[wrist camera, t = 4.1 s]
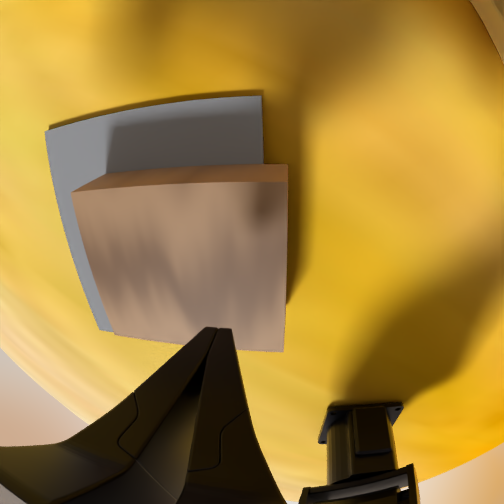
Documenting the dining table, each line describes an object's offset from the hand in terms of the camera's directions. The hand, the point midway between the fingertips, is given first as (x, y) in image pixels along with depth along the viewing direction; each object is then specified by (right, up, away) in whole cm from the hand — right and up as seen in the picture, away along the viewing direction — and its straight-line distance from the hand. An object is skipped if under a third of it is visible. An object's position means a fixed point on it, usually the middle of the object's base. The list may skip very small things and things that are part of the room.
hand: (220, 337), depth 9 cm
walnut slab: (+2, +2, +4) cm, 5 cm away
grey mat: (-4, +3, +6) cm, 8 cm away
